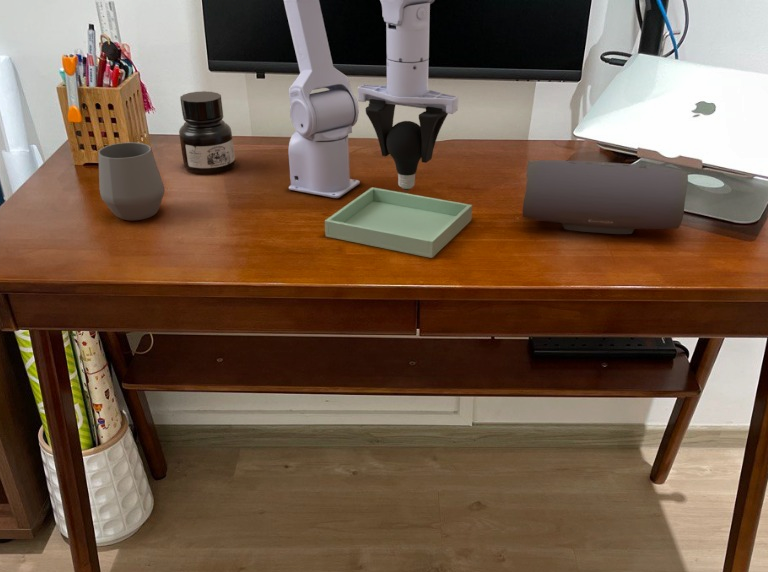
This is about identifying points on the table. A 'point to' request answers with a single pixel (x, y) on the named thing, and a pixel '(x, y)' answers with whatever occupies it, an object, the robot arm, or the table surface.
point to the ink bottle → (205, 134)
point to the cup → (130, 180)
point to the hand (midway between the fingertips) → (406, 157)
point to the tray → (399, 221)
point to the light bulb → (405, 151)
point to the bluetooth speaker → (605, 196)
